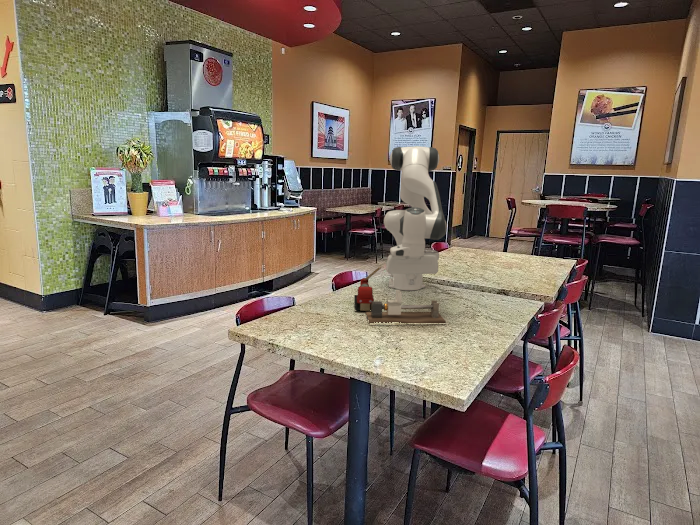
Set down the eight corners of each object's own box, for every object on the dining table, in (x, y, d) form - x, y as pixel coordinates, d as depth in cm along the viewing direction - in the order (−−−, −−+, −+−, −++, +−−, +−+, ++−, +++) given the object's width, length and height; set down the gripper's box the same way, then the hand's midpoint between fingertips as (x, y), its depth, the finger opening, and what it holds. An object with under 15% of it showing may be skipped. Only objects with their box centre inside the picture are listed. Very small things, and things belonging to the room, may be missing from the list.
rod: (370, 315, 185) (371, 301, 184) (435, 314, 187) (436, 301, 186) (372, 318, 181) (372, 304, 180) (437, 317, 183) (438, 303, 182)
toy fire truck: (354, 312, 192) (355, 271, 189) (354, 302, 208) (355, 263, 204) (381, 313, 192) (383, 272, 189) (379, 302, 208) (380, 264, 204)
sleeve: (386, 311, 185) (387, 289, 183) (398, 311, 186) (399, 289, 184) (388, 314, 181) (389, 292, 179) (400, 314, 182) (401, 292, 180)
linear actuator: (365, 315, 189) (366, 297, 187) (437, 315, 192) (438, 297, 190) (369, 325, 177) (370, 306, 176) (445, 325, 180) (446, 306, 178)
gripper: (437, 248, 183) (435, 281, 186) (386, 248, 181) (385, 282, 184) (441, 251, 177) (439, 286, 180) (388, 251, 175) (387, 286, 178)
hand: (411, 284), depth 182 cm, fingers closed
